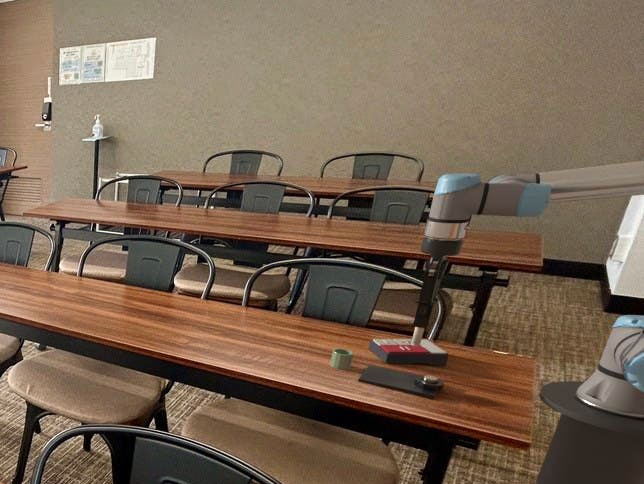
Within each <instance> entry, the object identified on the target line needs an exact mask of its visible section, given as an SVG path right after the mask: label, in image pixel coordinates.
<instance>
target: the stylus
mask: <svg viewBox="0 0 644 484" xmlns="http://www.w3.org/2000/svg"><path fill="white" fill-rule="evenodd" d="M424 331H425V328H419V327H414V331H413V334H412V338H411V339H412V342H411V344H412V345H413V346H415V347H417V346H419V345H420V343H421V340H423V335H424Z"/></svg>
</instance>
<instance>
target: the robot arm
mask: <svg viewBox="0 0 644 484" xmlns="http://www.w3.org/2000/svg"><path fill="white" fill-rule="evenodd" d="M481 179H482V177H481V175H480V174H477V173H464V172H463V173H462V172H460V173H459V172H458V173H456V172H455V173H446V174H443V175H441V176H440V178H438V181H437V184H436V187H435V190H434V193H433V197H432V201H431V205H430V211H429V215H428V218H427V220H426V223H425V224H426V225H425V229H424V233H423V235H424V236H425V237H423V238H422V242H421V246H420V252H421V253H423V254H425V255H430V256H431V257H430V258H427V260H425V263H424V264H425V265H424V268H425V270H424V272H423V281H422V285H421V289H420V294H419V298H418V300H417V299H416V300H415V302H414V303H415V304H417V308H416V312H415V316H414V320H413V324H412V327H414V328H415V327H419V328H424V330H425V329H427V327H428V326H429V324H430V320H431V316H432V313H433V308H434V305H435V302H439V300H440V298H438V297H437V296H438V292H439V288H440V284H441V281H442V278H443V276H444V275H445V272H446V269H447V267H448V265H449V261H450V260H449V259H447V257H456V256H458V255H460V254H461V251H462V248H463V245H464V240H463V238H465V236H466V232H467V231H468V230H471V228H472V227H471V225H468V224H469V222H470V220H471V219H470V218H471V216H492V217H493V216H495V217H517V218H537V217H540V216H542V215H544V213H545V212H546V210H547V208H548V205H549V204H555V203H556V204H557V203H564V202H565V203H566V202H578V201H589V200H598V199H599V200H600V199H601V200H602V199H611V198H622V197H623V198H624V197H633V196H644V160H638V161H630V162H621V163H613V164H605V165H604V164H603V165H595V166H587V167H578V168H571V169H561V170H552V171H544V172H538V173H536V172H535V173H527V174H503V175H499V176H497V177H494V178H493V179H492V180H490V181H489V182H482V180H481ZM583 382H584V383H583V384H582V385H581V386H580V387H579V388H578V390H577V392H576V394H575V398H576V399H577V400H578V401H579V402H580V403H582V404H584V405H586V406H588V407H590V408H593V409H595V410H598V411H601V412H604V413H608V414H611V415H615V416H620V417H624V418H630V419H637V420H644V315H639V314H637V315H636V314H626V315H622V316H619V317H618V318H617V319H616V320H615V322H614V324H613V325H612V326H611V332H610V334H609V336H608V340H607V342H606V344H605V347H604V350H603V351H602V355H601V357H600V360H599V363H598V365H597V367H596V370H595V371H594V372H593V373H592V374H591V375H590V376H588V377H587V378H586V379H585V380H584V381H583Z"/></svg>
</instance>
